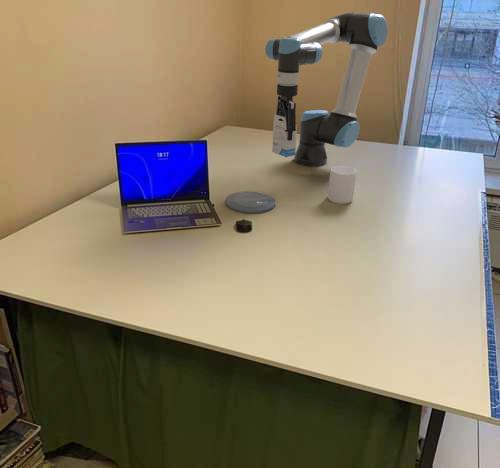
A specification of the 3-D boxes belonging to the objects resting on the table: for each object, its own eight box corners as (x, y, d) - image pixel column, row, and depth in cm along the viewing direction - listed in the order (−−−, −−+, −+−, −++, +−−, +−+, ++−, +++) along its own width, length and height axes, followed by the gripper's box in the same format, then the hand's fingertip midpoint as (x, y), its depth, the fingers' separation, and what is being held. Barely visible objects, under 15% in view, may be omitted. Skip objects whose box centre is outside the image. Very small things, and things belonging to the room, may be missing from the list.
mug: (336, 206, 177) (340, 175, 171) (318, 194, 186) (321, 165, 181) (357, 202, 180) (362, 172, 175) (338, 191, 190) (342, 162, 185)
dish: (267, 192, 186) (267, 189, 185) (281, 211, 170) (281, 207, 170) (221, 195, 182) (221, 192, 181) (231, 215, 166) (232, 211, 165)
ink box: (295, 155, 185) (298, 116, 178) (286, 157, 182) (288, 118, 175) (280, 149, 190) (282, 112, 184) (271, 152, 188) (273, 113, 181)
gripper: (268, 79, 183) (266, 137, 193) (287, 89, 164) (283, 153, 174) (287, 78, 185) (284, 136, 195) (308, 89, 166) (303, 152, 176)
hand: (284, 144), depth 184 cm, fingers closed on ink box, 9 cm apart
